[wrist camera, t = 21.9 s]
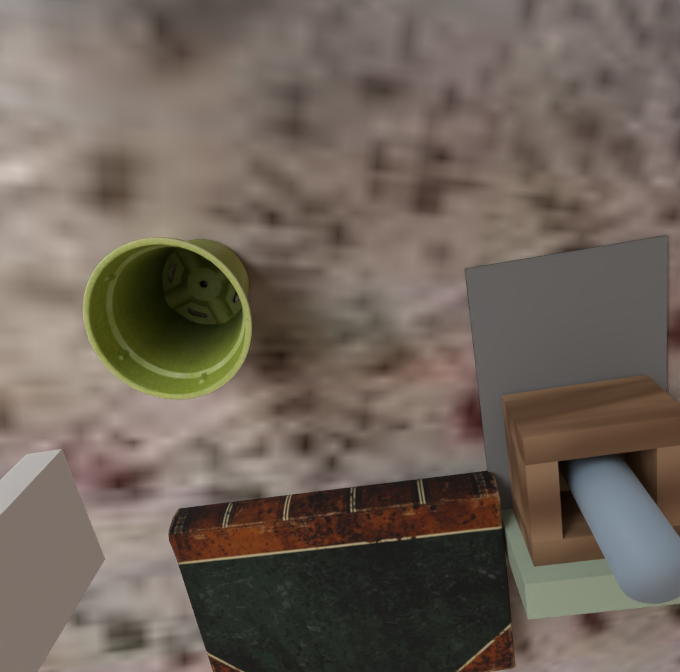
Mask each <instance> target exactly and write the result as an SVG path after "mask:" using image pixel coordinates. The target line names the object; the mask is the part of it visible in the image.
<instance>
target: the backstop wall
mask: <svg viewBox="0 0 680 672" xmlns="http://www.w3.org/2000/svg"><path fill="white" fill-rule="evenodd" d="M501 517H502V528H503V539H504V548H505V551H506V554H507V557H508V560H509V563H510V566H511V569H512V573H513V576H514V579H515V582H516V585H517V588H518V591H519V594H520V597H521V600H522V603H523V606H524V609H525V612H526V615H527V618H528V620H529V619H538V618H548V617H558V616H567V615H577V614H586V613H596V612H605V611H615V610H624V609H634V608H643V607H653V606H663V605H672V604H680V597H678V598H676V599H674V600H671V601H668V602H664V603H658V604H648V603H642V602H638V601H636V600H633V599H631V598H630V597H628V596H627V595H626V594H625V593H624V592H623V591H622V590H621V588H620V586H619V584H618V582H617V580H616V578H615V576H614V575H613V573H612V571H611V569H610V567H609V565H608V563H607V561H606V559H598V560H589V561H580V562H571V563H563V564H554V565H545V566H536V567H534V565H533V562H532V560H531V557H530V555H529V552H528V549H527V547H526V544H525V541H524V539H523V536H522V534H521V531H520V528H519V526H518V523H517V521H516V518H515V515H514V513H513V509H505V510H501Z"/></svg>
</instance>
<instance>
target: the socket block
mask: <svg viewBox="0 0 680 672" xmlns="http://www.w3.org/2000/svg"><path fill="white" fill-rule="evenodd" d="M502 405H503V415H504V425H505V435H506V446H507V456H508V466H509V476H510V487H511V497H512V507H513V513H514V515H515V518H516V521H517V523H518V526H519V528H520V531H521V534H522V536H523V539H524V541H525V544H526V547H527V549H528V552H529V555H530V557H531V560H532V562H533V565H534V567H536V566H545V565H554V564H563V563H571V562H580V561H589V560H598V559H605V557H604V555H603V553H602V551H601V549H600V547H599V545H598V543H597V541H596V539H595V537H594V535H593V533H592V531H591V530H590V528H589V526H588V524H587V522H586V520H585V518H584V516H583V514H582V512H581V510H580V508H579V506H578V504H577V502H576V500H575V498H574V496H573V494H572V492H571V490H570V488H569V486H568V484H567V483H566V481H565V479H564V477H563V475H562V473H561V471H560V469H559V467H558V461H564V460H572V459H579V458H587V457H595V456H602V455H610V454H618V453H620V455H621V456H622V457H623V459H624V460H625V462H626V463H627V464H628V466H629V467H630V469H631V470H632V471H633V473H634V474H635V476H636V477H637V478H638V480H639V481H640V482H641V484H642V485H643V487H644V488H645V489H646V491H647V492H648V494H649V495H650V496H651V498H652V499H653V501H654V502H655V503H656V505H657V506H658V508H659V509H660V510H661V512H662V513H663V515H664V516H665V517H666V519H667V520H668V522H669V523H670V524H671V526H672V527H673V529H674V530H675V531H676V533H677V534H678V536H679V537H680V404H679V403H678V402H677V401H676V400H675V399H673V398H672V397H671V396H670V395H669V394H668V393H667V392H666V391H664V390H663V389H662V388H661V387H660V386H659V385H658V384H657V383H655V382H654V381H653V380H652V379H651V378H650V377H649V376H648V375H640V376H633V377H626V378H619V379H612V380H605V381H598V382H591V383H584V384H577V385H570V386H563V387H556V388H549V389H542V390H535V391H528V392H521V393H514V394H507V395H502Z"/></svg>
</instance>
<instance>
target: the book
mask: <svg viewBox="0 0 680 672" xmlns="http://www.w3.org/2000/svg"><path fill="white" fill-rule="evenodd" d="M169 541H170V544H171V546H172V549H173V551H174V553H175V556H176V558H177V561H178V565H179V568H180V571H181V574H182V577H183V580H184V583H185V586H186V589H187V593H188V596H189V599H190V602H191V605H192V608H193V611H194V614H195V617H196V621H197V624H198V627H199V630H200V633H201V636H202V639H203V642H204V645H205V648H206V651H207V654H208V657H209V660H210V664H211V667H212V670H213V672H490V671H497V670H504V669H511V668H514V667H516V665H515V656H514V645H513V634H512V623H511V612H510V601H509V590H508V579H507V569H506V559H505V549H504V539H503V528H502V517H501V503H500V497H499V493H498V489H497V484H496V480H495V477H494V475H493V473H492V472H488V471H482V472H474V473H466V474H458V475H450V476H442V477H433V478H425V479H417V480H409V481H400V482H392V483H384V484H375V485H367V486H359V487H350V488H342V489H334V490H326V491H318V492H310V493H301V494H293V495H285V496H277V497H269V498H261V499H253V500H245V501H237V502H229V503H220V504H212V505H204V506H196V507H189V508H181V509H178V510H177V512H176V513H175V515H174V517H173V520H172V523H171V525H170V528H169Z"/></svg>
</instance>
